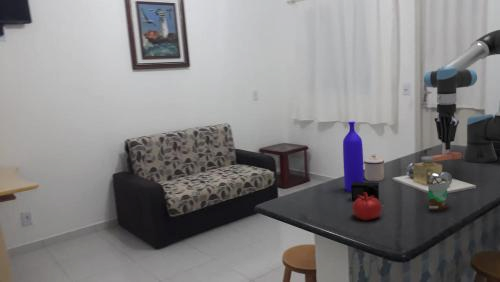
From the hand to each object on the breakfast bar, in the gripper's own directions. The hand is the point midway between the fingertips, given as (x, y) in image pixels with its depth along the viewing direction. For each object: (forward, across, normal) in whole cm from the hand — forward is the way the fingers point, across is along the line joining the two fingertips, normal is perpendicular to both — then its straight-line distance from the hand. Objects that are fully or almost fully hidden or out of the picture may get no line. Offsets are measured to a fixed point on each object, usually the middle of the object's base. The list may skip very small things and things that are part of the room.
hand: (445, 156), depth 174 cm
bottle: (+11, -4, -42) cm, 43 cm away
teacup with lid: (+11, -16, -27) cm, 34 cm away
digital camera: (+11, +11, -44) cm, 47 cm away
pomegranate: (+10, +27, -52) cm, 59 cm away
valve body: (+9, +3, -11) cm, 15 cm away
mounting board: (+11, +3, -9) cm, 14 cm away
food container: (+10, +28, -24) cm, 38 cm away
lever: (+1, +3, -5) cm, 5 cm away
